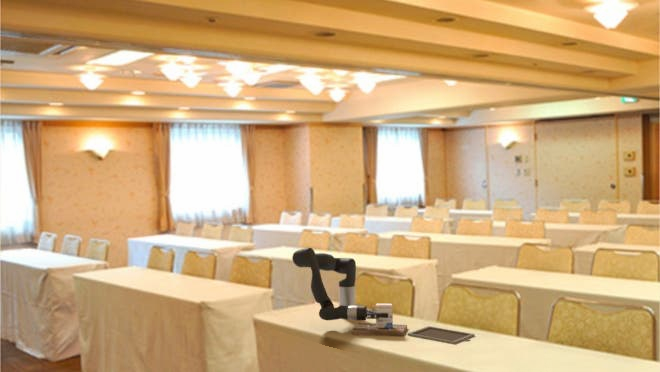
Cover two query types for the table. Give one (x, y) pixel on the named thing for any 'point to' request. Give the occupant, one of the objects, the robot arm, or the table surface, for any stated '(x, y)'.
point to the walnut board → (379, 330)
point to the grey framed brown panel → (441, 335)
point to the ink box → (384, 321)
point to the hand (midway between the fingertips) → (389, 314)
